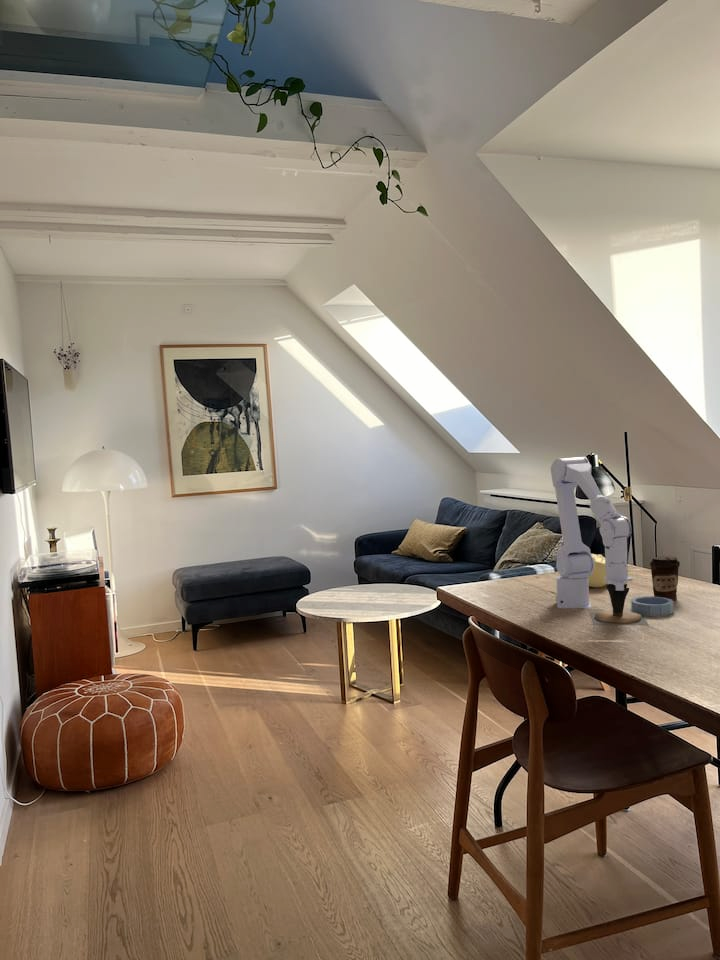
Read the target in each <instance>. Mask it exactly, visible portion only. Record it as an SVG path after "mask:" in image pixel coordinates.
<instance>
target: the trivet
mask: <svg viewBox="0 0 720 960" xmlns="http://www.w3.org/2000/svg"><path fill="white" fill-rule="evenodd" d="M597 612H598V611H589V613H588V614H589V615H590V619H591V622H592V625H593V626H649V625H650V624H649V623H648V621H647V619H646V616H643V615H641V620H640V621H639V622H635V623H629V624H613V623H605V622H601V621H598V620H596V619H595V614H596V613H597Z"/></svg>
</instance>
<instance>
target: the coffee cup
mask: <svg viewBox="0 0 720 960" xmlns="http://www.w3.org/2000/svg"><path fill="white" fill-rule="evenodd" d="M651 559H652V560H651V561H650V563H649V566H650V570H651V573H650V574H651V580H652V590H653V596H654V597H664V598H668V599H672V600H673V602H677V601H678V598H677V589H678V583H679V569H680V564H681V562H680V561H679V560H678V557H676V556H656V557H652V558H651Z"/></svg>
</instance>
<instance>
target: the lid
mask: <svg viewBox="0 0 720 960" xmlns="http://www.w3.org/2000/svg"><path fill="white" fill-rule="evenodd" d="M596 612H597V613H596V614H595V619H596V620H598V621H601V622H605V623H613V624H629V623H635V622H639V621H640V620H641V615H640V614H638V613H636V612H632V611H631V610H624V609H623V613H614V610H613V609H610V610H607V609H606V610H600V611H596Z"/></svg>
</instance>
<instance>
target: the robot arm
mask: <svg viewBox="0 0 720 960" xmlns="http://www.w3.org/2000/svg"><path fill="white" fill-rule="evenodd" d="M549 470H550V474H551V481H552V486H553V487H554V491H555V498H556V502H557V503H556V504H557V510H558V517H559V518H558V519H559V523H560V529H561V535H562V546H561V547H560V548H559V549H558V550H557V551H556V552H555V553H556V563H555V565H556V566H555V567H556V571H557V572H558V574H559V575H560V576H556V578H555V580H556V582H555V584H556V595H555V602H556V603H557V604H556V605H557V608H558V609H592V605H591V602H590V591H589V588H590V586H589V583H588V576H591V575H590V573H592V571H593V570H594V559H593V557H592V555H591V554H592V553H591V548H590V547H589V546H587V545H586V544H584V542H583V541H582V535H581V529H580V523H579V516H578V515H579V514H578V509H577V501H576V497H575V495H576V494H575V489H576V487H577V486H579V488H580V489H581V490H582V492H583V493H584V495H585V496H586V497H587V498H588V500H589V501H590V504H589V509H590V510H591V512H592V514H593V515H594V517H595V519H596V521H597V522H598V524H599V525H600V528H598V529H599V534H600V535H601V538H602V544H603V546H604V555H605V556H604V558H605V567H606V577H605V581H606V582H608V584H605V587H606V590H607V591H608V595H609V598H610V604H611V607H612V610H614V613H623V610H624V608H625V601H626V598H627V595H628V594H629V591H630V588H629V587H628V582H632V581H633V577H632V576H631V577H630V576H628V575H629V572H628V570H629V569H628V565H629V564H628V538H629V537H630V536H631V533H632V524H631V522H630V519H629V518H628V517H627V516H623V514H620V513H619V512H618V510H617V509H616V508H615V505H614V504H613V503H612V501H611V499H610V498H609V497H608V496H606V495H605V496H604V495H602V492H601V491H600V488H599V487H598V485H597V483H596V481H595V479H594V477H593V475H592V464H591V463H590V461H589V459H588V458H587V457H586V456H577V457H565V458H564V457H563V458H561V457H557V458H555V459H554V460H553V461H552V463H551V466H550V469H549Z"/></svg>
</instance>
